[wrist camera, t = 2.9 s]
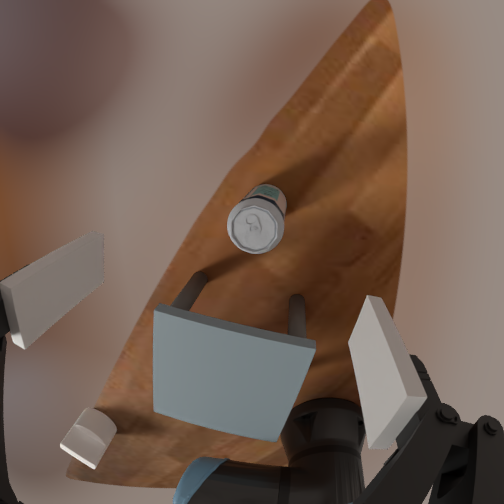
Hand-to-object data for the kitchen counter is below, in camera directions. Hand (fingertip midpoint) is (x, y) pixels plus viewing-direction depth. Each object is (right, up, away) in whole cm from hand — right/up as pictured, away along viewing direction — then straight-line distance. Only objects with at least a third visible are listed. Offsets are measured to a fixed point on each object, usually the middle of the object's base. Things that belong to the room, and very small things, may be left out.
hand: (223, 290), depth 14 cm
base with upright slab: (-34, -37, +43) cm, 66 cm away
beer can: (+3, +7, +22) cm, 24 cm away
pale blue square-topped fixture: (0, -9, +28) cm, 30 cm away
